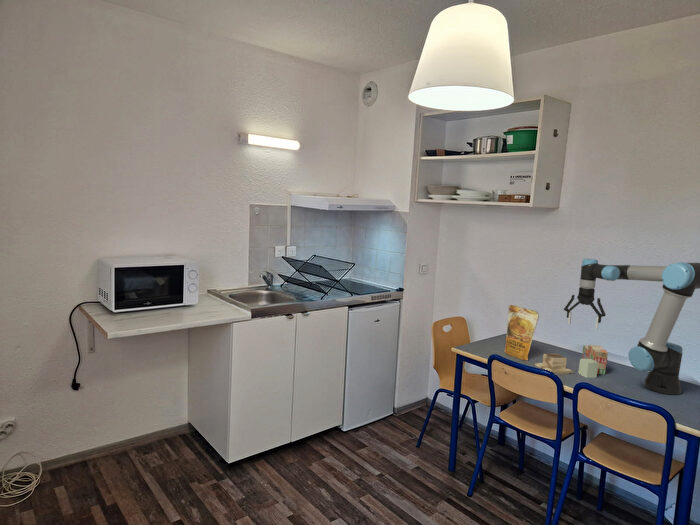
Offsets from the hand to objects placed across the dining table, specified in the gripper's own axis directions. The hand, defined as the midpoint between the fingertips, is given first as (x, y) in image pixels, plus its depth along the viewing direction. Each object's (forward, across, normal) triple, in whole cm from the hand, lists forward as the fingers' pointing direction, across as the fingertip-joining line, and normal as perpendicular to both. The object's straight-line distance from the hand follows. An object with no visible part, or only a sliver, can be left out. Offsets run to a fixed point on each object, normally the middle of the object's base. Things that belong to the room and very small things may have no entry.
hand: (582, 326), depth 259 cm
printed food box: (+22, -7, -2) cm, 23 cm away
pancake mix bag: (+22, +31, +9) cm, 39 cm away
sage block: (+22, -7, +15) cm, 28 cm away
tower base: (+22, +9, +18) cm, 30 cm away
